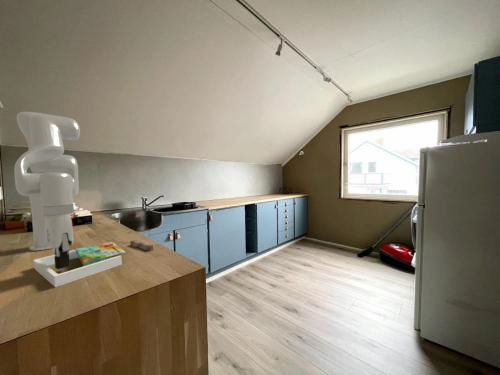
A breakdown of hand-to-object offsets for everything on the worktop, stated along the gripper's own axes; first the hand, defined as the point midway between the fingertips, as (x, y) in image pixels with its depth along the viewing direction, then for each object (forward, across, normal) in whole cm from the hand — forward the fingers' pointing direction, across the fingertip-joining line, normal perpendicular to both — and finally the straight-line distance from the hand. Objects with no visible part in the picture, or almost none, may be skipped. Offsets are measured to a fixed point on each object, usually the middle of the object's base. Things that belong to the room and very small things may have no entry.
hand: (62, 267), depth 66 cm
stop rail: (+1, 0, +26) cm, 26 cm away
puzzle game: (+2, 0, +10) cm, 11 cm away
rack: (+1, 0, +4) cm, 5 cm away
